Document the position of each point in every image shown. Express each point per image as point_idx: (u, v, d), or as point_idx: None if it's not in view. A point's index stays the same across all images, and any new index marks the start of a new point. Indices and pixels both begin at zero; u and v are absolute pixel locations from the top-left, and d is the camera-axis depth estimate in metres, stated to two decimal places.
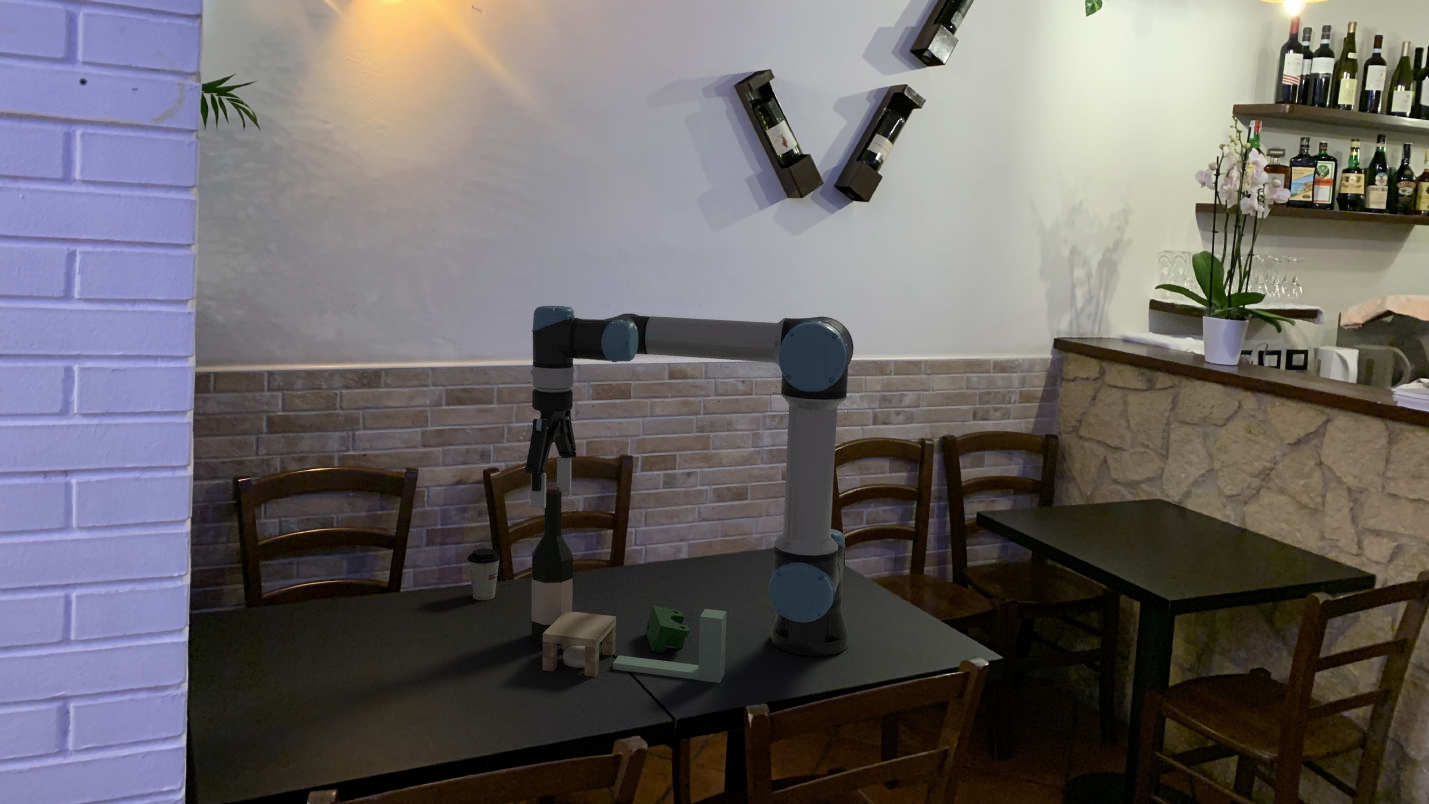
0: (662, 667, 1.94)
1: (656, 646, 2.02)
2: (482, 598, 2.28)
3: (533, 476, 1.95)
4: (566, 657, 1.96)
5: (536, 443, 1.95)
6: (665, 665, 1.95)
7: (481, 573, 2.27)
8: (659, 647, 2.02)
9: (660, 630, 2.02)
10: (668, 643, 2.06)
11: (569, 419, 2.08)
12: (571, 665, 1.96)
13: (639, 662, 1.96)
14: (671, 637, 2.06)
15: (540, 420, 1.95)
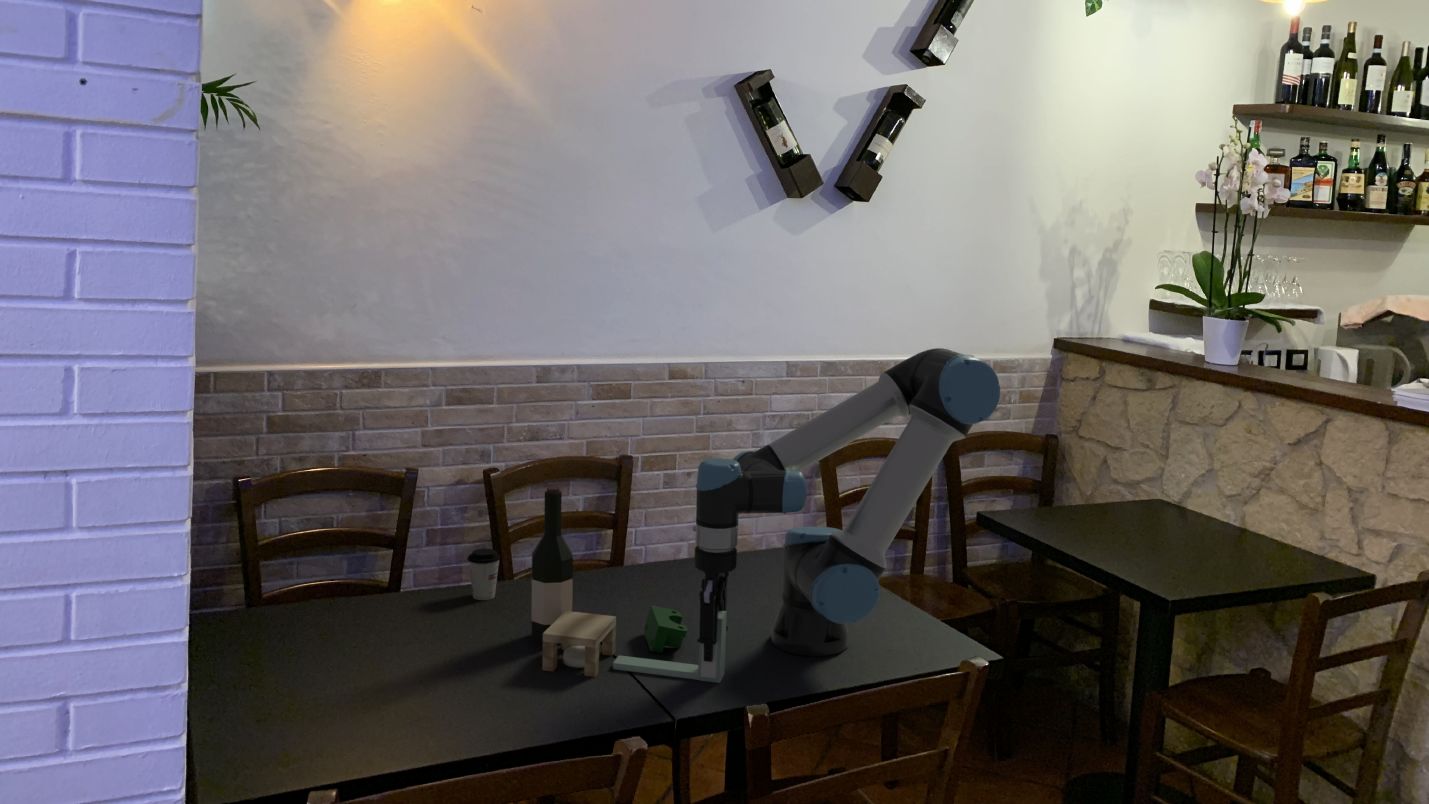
0: (662, 667, 1.94)
1: (654, 646, 2.02)
2: (482, 598, 2.28)
3: (705, 646, 1.89)
4: (566, 657, 1.96)
5: (707, 616, 1.86)
6: (665, 665, 1.95)
7: (481, 573, 2.27)
8: (657, 647, 2.02)
9: (658, 630, 2.02)
10: (666, 643, 2.06)
11: (726, 582, 1.96)
12: (571, 665, 1.96)
13: (639, 662, 1.96)
14: (669, 637, 2.05)
15: (707, 594, 1.84)
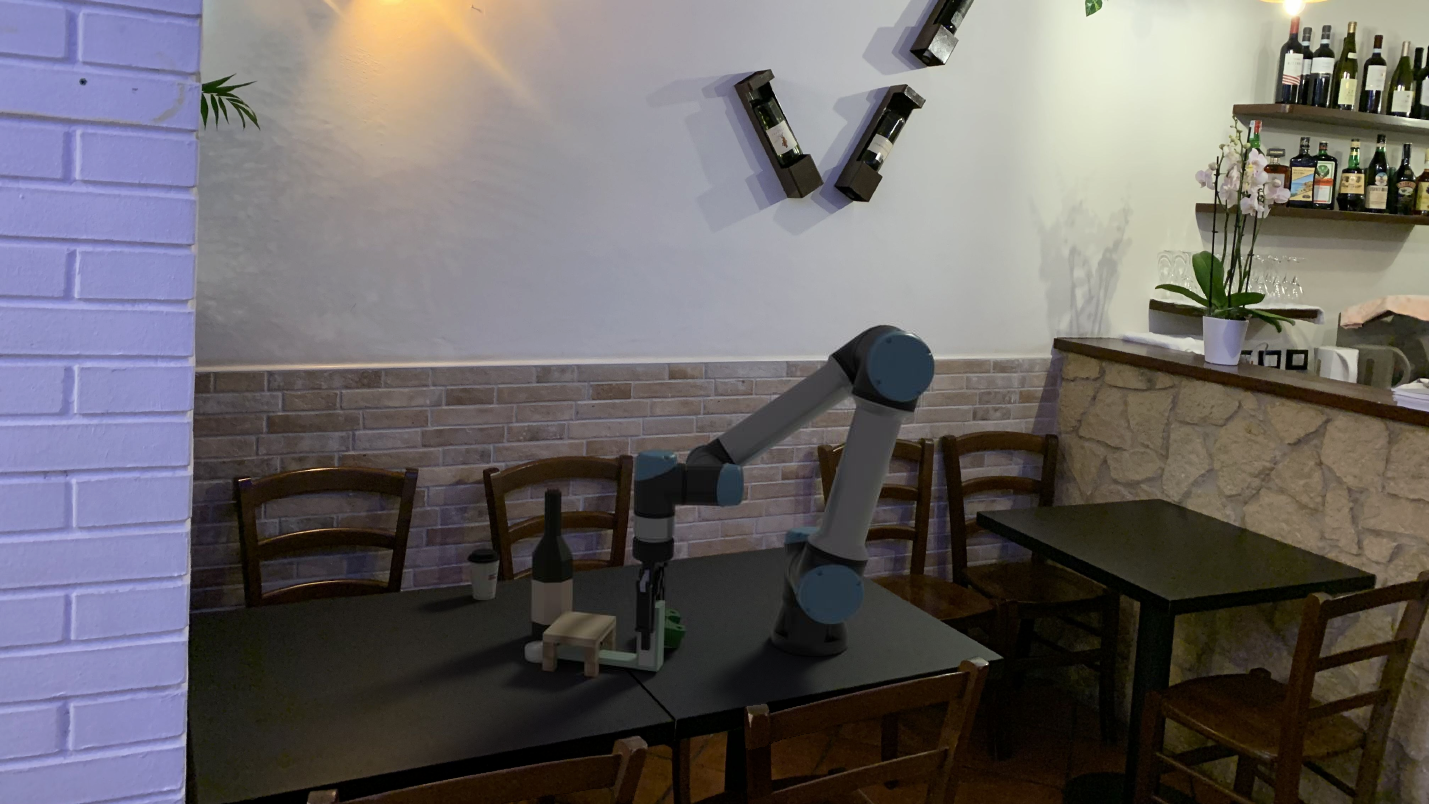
0: (601, 655, 1.96)
1: None
2: (482, 598, 2.28)
3: (643, 635, 1.91)
4: (527, 652, 1.98)
5: (643, 605, 1.88)
6: (604, 654, 1.97)
7: (481, 573, 2.27)
8: None
9: None
10: (665, 643, 2.06)
11: (666, 572, 1.98)
12: (532, 660, 1.97)
13: (579, 651, 1.98)
14: (668, 637, 2.05)
15: (643, 583, 1.86)
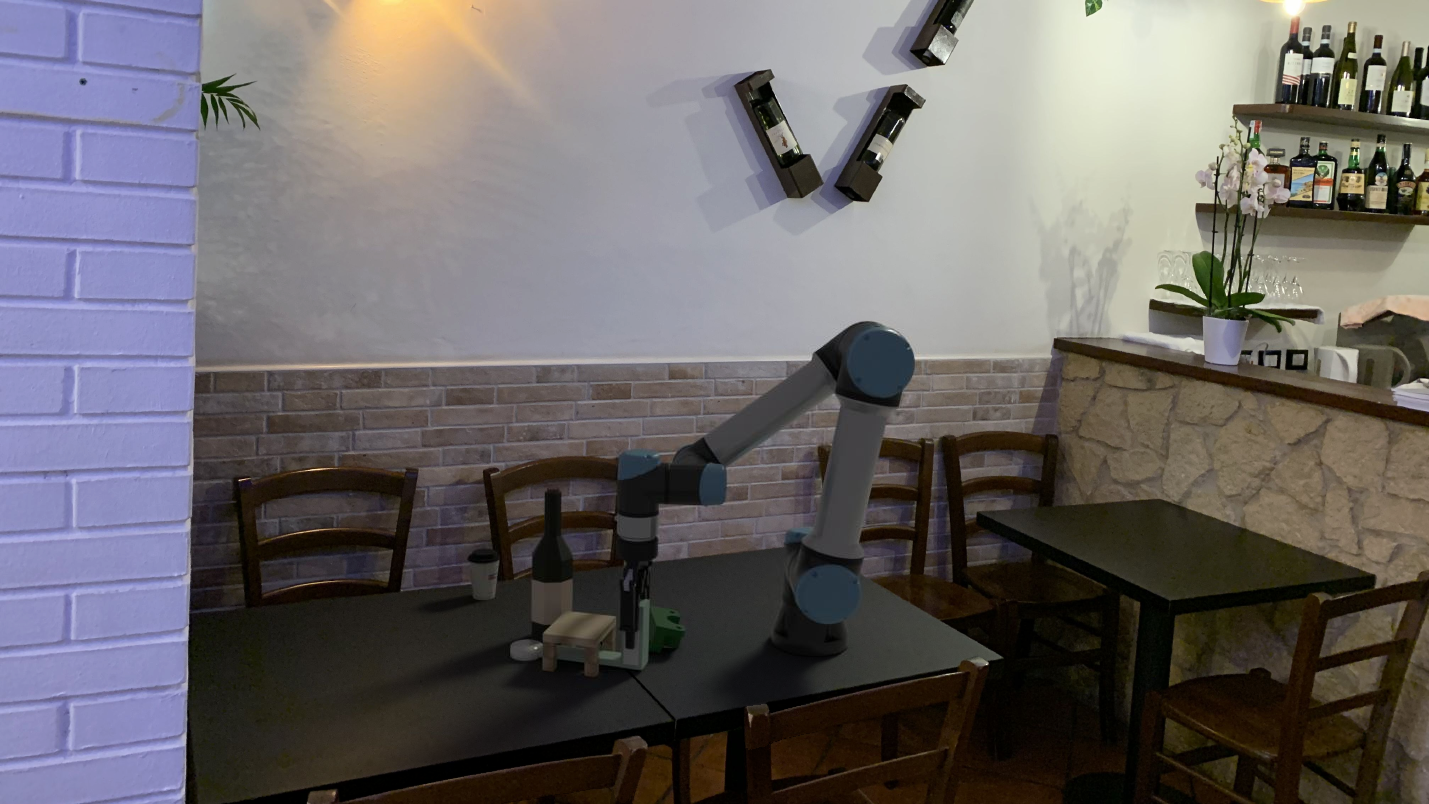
0: None
1: (652, 647, 2.02)
2: (482, 598, 2.28)
3: (627, 634, 1.91)
4: (513, 651, 1.98)
5: (627, 604, 1.89)
6: None
7: (481, 573, 2.27)
8: (655, 647, 2.02)
9: (656, 630, 2.02)
10: (664, 643, 2.05)
11: (650, 571, 1.99)
12: (518, 659, 1.98)
13: (564, 650, 1.99)
14: (667, 637, 2.05)
15: (627, 582, 1.87)
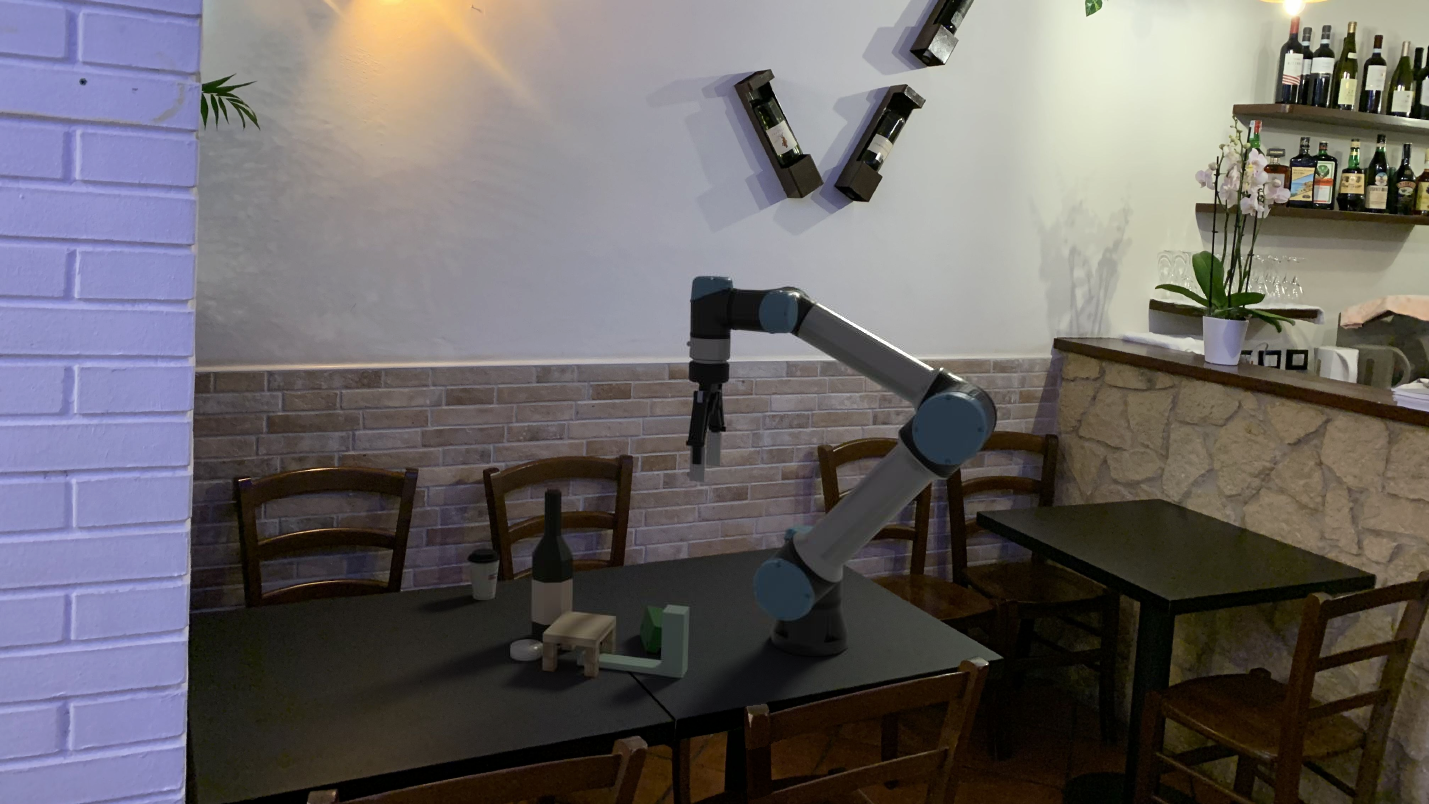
0: (625, 662, 1.96)
1: (650, 647, 2.02)
2: (482, 598, 2.28)
3: (694, 449, 1.91)
4: (513, 651, 1.98)
5: (698, 415, 1.91)
6: (628, 660, 1.96)
7: (481, 573, 2.27)
8: (652, 647, 2.02)
9: (653, 630, 2.02)
10: None
11: (721, 392, 2.04)
12: (518, 659, 1.98)
13: (603, 658, 1.97)
14: None
15: (701, 392, 1.91)
